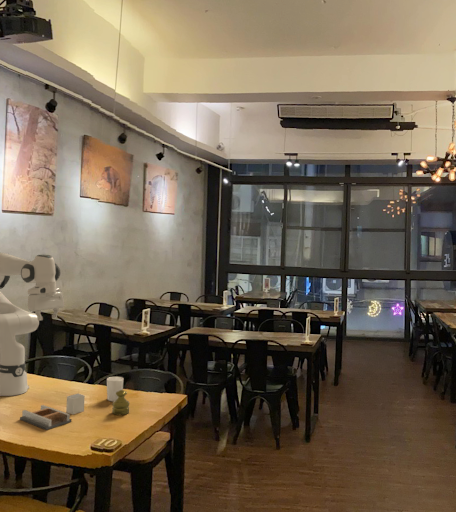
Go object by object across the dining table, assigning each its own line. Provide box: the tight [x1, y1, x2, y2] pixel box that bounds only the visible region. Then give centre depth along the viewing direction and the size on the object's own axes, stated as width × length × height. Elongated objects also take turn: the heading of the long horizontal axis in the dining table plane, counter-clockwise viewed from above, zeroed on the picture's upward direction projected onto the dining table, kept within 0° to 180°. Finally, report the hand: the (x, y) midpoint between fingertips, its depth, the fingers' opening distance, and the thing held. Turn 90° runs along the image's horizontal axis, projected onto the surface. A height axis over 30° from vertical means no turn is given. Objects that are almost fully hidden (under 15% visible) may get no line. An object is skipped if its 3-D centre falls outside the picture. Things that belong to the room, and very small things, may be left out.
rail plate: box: [19, 404, 72, 431], centre depth 202 cm, size 18×12×4 cm, turn 56°
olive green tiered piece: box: [111, 389, 130, 416], centre depth 215 cm, size 7×7×10 cm
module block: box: [65, 393, 85, 415], centre depth 214 cm, size 4×6×7 cm
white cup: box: [106, 376, 124, 402], centre depth 233 cm, size 8×8×10 cm
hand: (47, 319), depth 223 cm, fingers open, 8 cm apart
